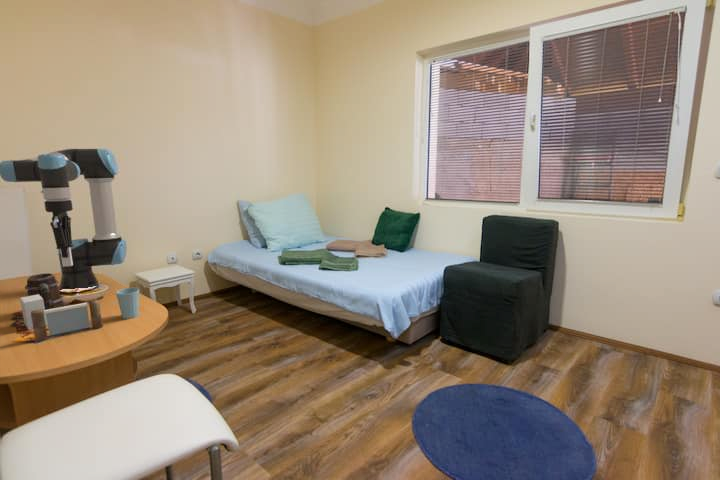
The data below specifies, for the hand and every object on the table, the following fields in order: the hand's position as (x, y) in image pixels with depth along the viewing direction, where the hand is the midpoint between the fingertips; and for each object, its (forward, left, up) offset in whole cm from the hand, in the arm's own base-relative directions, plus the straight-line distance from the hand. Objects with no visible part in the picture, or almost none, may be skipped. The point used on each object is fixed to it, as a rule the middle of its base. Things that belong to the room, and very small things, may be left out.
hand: (67, 265), depth 139 cm
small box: (-8, -12, -23) cm, 27 cm away
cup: (+3, +17, -23) cm, 28 cm away
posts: (+8, -2, -22) cm, 24 cm away
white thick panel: (+8, -2, -21) cm, 23 cm away
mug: (-20, -9, -23) cm, 32 cm away
